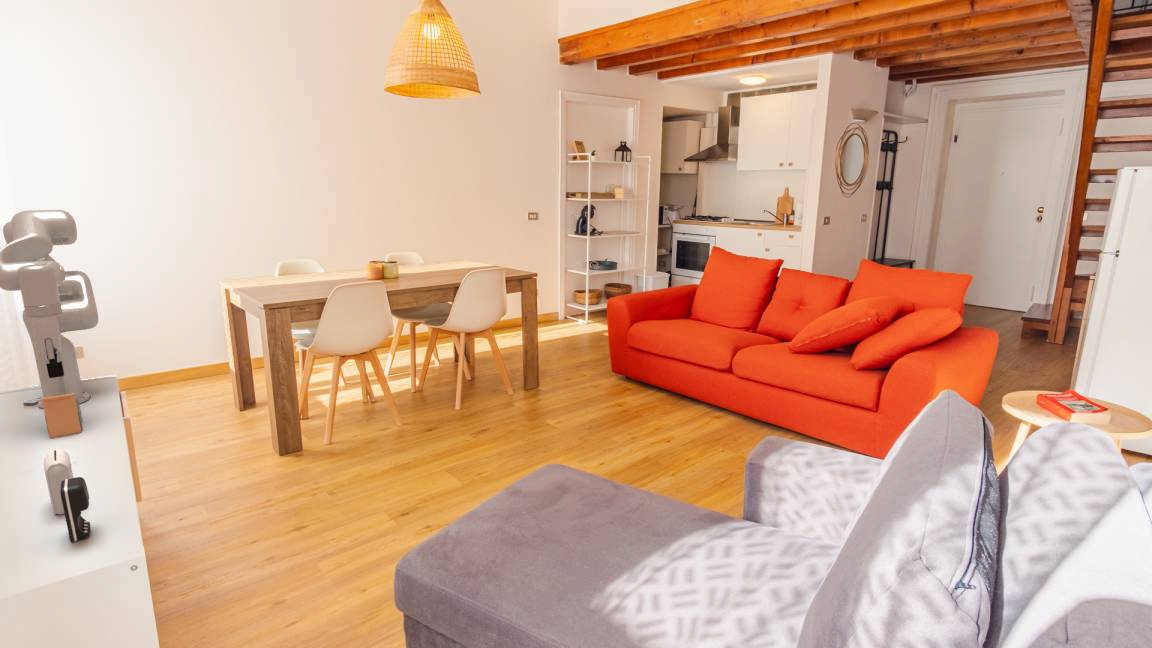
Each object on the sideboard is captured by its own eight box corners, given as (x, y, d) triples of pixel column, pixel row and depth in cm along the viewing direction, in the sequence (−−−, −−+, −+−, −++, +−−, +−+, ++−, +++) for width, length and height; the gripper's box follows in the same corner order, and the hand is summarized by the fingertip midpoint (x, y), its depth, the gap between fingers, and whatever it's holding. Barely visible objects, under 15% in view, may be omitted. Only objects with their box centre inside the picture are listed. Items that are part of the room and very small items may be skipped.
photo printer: (52, 497, 138) (42, 446, 135) (77, 491, 141) (67, 441, 138) (52, 517, 130) (41, 464, 127) (78, 511, 133) (68, 458, 130)
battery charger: (94, 537, 124) (84, 486, 121) (70, 544, 121) (59, 491, 119) (94, 522, 129) (85, 472, 126) (71, 528, 127) (61, 477, 124)
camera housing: (50, 428, 174) (45, 403, 172) (83, 422, 178) (78, 398, 176) (49, 440, 166) (43, 414, 164) (83, 434, 170) (78, 408, 169)
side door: (50, 438, 166) (42, 398, 163) (81, 433, 170) (74, 393, 167) (50, 440, 165) (41, 399, 162) (81, 434, 169) (73, 394, 166)
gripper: (27, 308, 169) (40, 372, 173) (23, 317, 157) (37, 386, 162) (62, 304, 173) (74, 367, 178) (61, 313, 162) (73, 380, 166)
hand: (56, 376), depth 170 cm, fingers closed
